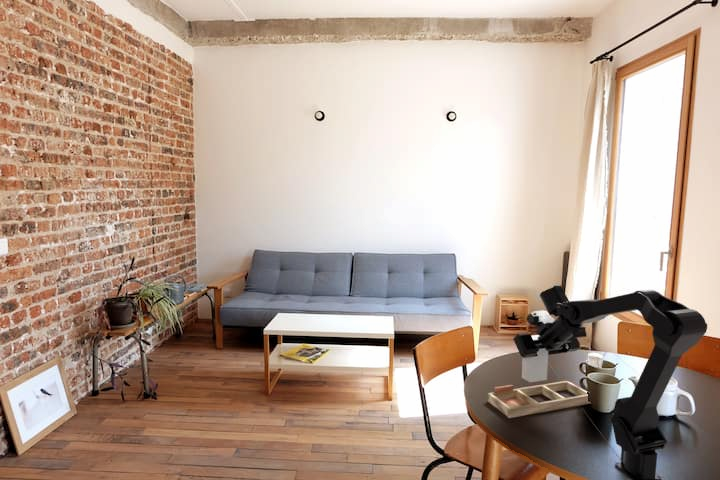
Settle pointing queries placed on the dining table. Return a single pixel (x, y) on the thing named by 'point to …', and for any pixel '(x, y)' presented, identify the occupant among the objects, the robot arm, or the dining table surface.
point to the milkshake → (595, 359)
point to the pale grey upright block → (535, 365)
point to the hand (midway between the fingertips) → (532, 355)
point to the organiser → (522, 404)
